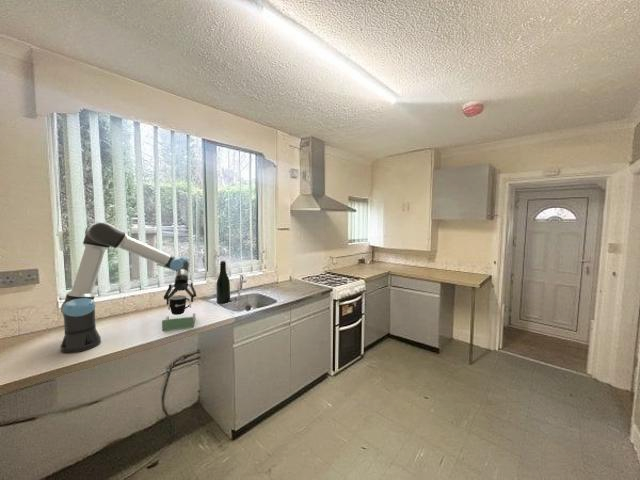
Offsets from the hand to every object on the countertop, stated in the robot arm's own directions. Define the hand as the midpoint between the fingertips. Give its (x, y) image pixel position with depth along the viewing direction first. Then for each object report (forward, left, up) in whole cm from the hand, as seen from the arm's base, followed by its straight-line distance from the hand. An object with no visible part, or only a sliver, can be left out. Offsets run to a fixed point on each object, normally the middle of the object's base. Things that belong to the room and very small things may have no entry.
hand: (179, 307), depth 160 cm
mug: (0, +3, -4) cm, 5 cm away
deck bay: (0, +2, -11) cm, 11 cm away
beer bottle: (+27, +42, -11) cm, 51 cm away
